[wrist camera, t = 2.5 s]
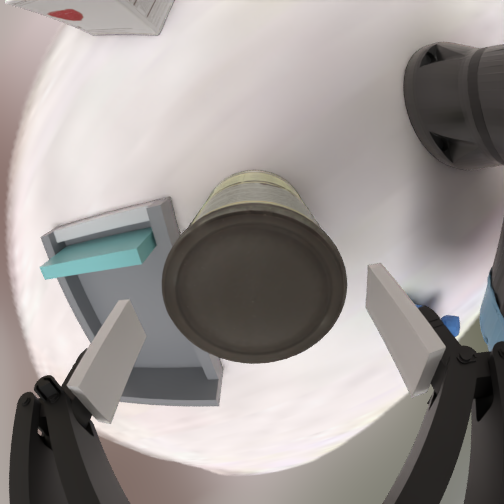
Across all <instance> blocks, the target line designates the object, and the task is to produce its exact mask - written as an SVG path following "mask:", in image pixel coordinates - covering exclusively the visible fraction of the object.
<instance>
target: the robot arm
mask: <svg viewBox="0 0 504 504" xmlns="http://www.w3.org/2000/svg"><path fill="white" fill-rule="evenodd" d="M404 95H405V102H406V107H407V111H408V114H409V117H410V120H411V123H412V125H413V128H414V130H415V132H416V134H417V135H418V137H419V139H420V140H421V142H422V143H423V145H424V146H425V147H426V149H427V150H428V151H429V152H430V153H431V154H432V155H433V156H434V157H435V158H436V159H438V160H439V161H441V162H442V163H444V164H446V165H449V166H452V167H455V168H458V169H462V170H478V169H484V168H489V167H494V166H500V165H504V44H502V45H496V46H491V47H486V48H476V47H471V46H466V45H461V44H456V43H450V42H438V43H434V44H431V45H428V46H425V47H423V48H421V49H419V50H418V51H417V52H416V53H415V54H414V55H413V56H412V57H411V59H410V61H409V63H408V65H407V68H406V72H405V78H404ZM366 309H367V311H368V313H369V315H370V316H371V318H372V320H373V322H374V324H375V326H376V327H377V329H378V331H379V333H380V335H381V337H382V339H383V341H384V342H385V344H386V346H387V348H388V350H389V352H390V354H391V356H392V358H393V360H394V362H395V364H396V366H397V368H398V370H399V372H400V374H401V376H402V378H403V380H404V383H405V385H406V387H407V389H408V391H409V393H410V395H411V397H415V396H418V395H420V394H423V393H426V392H427V390H428V388H429V386H430V384H431V385H432V387H433V389H434V392H433V394H432V396H431V398H430V400H429V401H428V403H427V404H429V406H428V409H427V411H426V415H425V417H424V420H423V422H422V425H421V428H420V430H419V433H418V435H417V437H416V440H415V442H414V444H413V447H412V449H411V451H410V453H409V456H408V458H407V460H406V462H405V464H404V466H403V468H402V470H401V472H400V474H399V476H398V477H397V479H396V481H395V483H394V485H393V487H392V488H391V490H390V492H389V493H388V495H387V497H386V498H385V500H384V502H383V503H382V504H439V503H440V501H441V499H442V497H443V495H444V492H445V490H446V488H447V485H448V483H449V480H450V478H451V476H452V473H453V470H454V467H455V465H456V462H457V459H458V456H459V453H460V450H461V447H462V443H463V440H464V436H465V433H466V429H467V425H468V421H469V416H470V412H471V413H472V414H471V415H472V431H471V434H472V435H471V454H470V466H469V475H468V483H467V489H466V495H465V500H464V504H504V219H503V224H502V230H501V234H500V239H499V243H498V248H497V252H496V256H495V259H494V263H493V266H492V268H491V270H490V272H489V276H488V285H487V288H486V292H485V295H484V298H483V302H482V305H481V309H480V326H481V332H482V335H483V338H484V341H485V342H486V344H487V345H488V350H489V352H482V353H476V351H475V350H473V349H472V348H470V347H468V346H461V345H460V344H459V343H458V341H457V340H456V338H455V337H454V336H453V334H452V333H451V332H450V331H449V329H448V328H447V327H446V325H444V323H443V322H442V320H441V319H440V318H439V316H438V315H437V314H436V313H435V312H434V311H433V310H432V309H430V308H429V307H427V306H422V307H419V308H417V307H416V305H415V304H414V303H413V302H412V300H411V299H410V298H409V296H408V295H407V294H406V293H405V291H404V290H403V289H402V288H401V286H400V285H399V284H398V283H397V282H396V280H395V279H394V278H393V277H392V276H391V274H390V273H389V272H388V271H387V270H386V268H385V267H384V266H383V265H382V264H381V263H377V264H371V265H368V274H367V294H366ZM145 338H146V334H145V332H144V330H143V328H142V326H141V323H140V321H139V319H138V317H137V315H136V313H135V311H134V308H133V306H132V304H131V302H130V299H128V300H119V301H118V302H117V304H116V305H115V307H114V308H113V310H112V311H111V313H110V314H109V316H108V317H107V319H106V320H105V322H104V324H103V325H102V327H101V328H100V330H99V331H98V333H97V334H96V336H95V338H94V339H93V341H92V342H91V344H90V346H89V347H88V349H87V348H86V349H85V350H84V351H83V352H82V353H81V354H80V355H79V357H78V359H77V360H76V363H75V364H74V365H73V367H72V369H71V370H70V372H69V374H68V376H67V377H66V379H65V381H64V383H63V384H62V386H60V385H59V384H58V383H57V381H56V380H55V379H54V377H52V376H51V375H47V376H44V377H42V378H40V379H39V380H38V381H37V383H36V384H35V387H34V391H35V392H36V393H37V394H38V395H39V397H40V398H39V399H38V398H37V397H36V396H35V395H34V394H33V393H32V392H27V393H24V394H23V395H22V396H21V397H20V399H19V400H18V403H17V409H16V414H15V420H14V427H13V434H12V443H11V453H10V472H9V494H10V504H130V502H129V501H128V499H127V497H126V496H125V494H124V492H123V490H122V488H121V486H120V485H119V482H118V480H117V478H116V476H115V474H114V472H113V470H112V468H111V466H110V464H109V461H108V459H107V457H106V455H105V453H104V450H103V447H102V445H101V442H100V440H99V437H98V435H97V432H96V429H95V427H94V424H93V423H92V421H91V420H90V419H91V416H92V415H93V416H94V417H95V419H96V420H97V421H98V422H103V423H108V424H111V422H112V419H113V417H114V414H115V411H116V409H117V406H118V403H119V401H120V398H121V396H122V393H123V391H124V388H125V386H126V383H127V381H128V378H129V376H130V373H131V371H132V369H133V366H134V364H135V361H136V359H137V357H138V354H139V352H140V350H141V347H142V345H143V343H144V341H145ZM38 429H39V430H40V431H41V432H42V435H41V436H40V435H39V434H38Z"/></svg>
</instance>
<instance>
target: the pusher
mask: <svg viewBox="0 0 504 504" xmlns="http://www.w3.org/2000/svg"><path fill="white" fill-rule="evenodd" d="M156 246H157V244H156V241H155V238H154V234H153V231H152V228H151V227H149V228H144V229H139V230H134V231H130V232H125V233H121V234H116V235H112V236H107V237H103V238H98V239H94V240H90V241H86V242H81V243H77V244H73V245H69V246H66V247H65V248H64V249H62V250H61V251H60V252H58V253H57V254H56V255H55V256H53V257H52V258H51V259H50V260H48V261H47V262H46V263H45V264H43V265H42V266H41V267H40V269H41V272H42V274H43V276H44V278H45V280H46V279H52V278H58V277H64V276H71V275H77V274H83V273H89V272H96V271H102V270H108V269H115V268H121V267H128V266H134V265H140V264H143V262H144V261H145V260H146V258H147V257H148V256H149V255H150V253H151V252H152V251H153V249H154V248H155V247H156Z"/></svg>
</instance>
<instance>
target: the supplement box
mask: <svg viewBox="0 0 504 504" xmlns="http://www.w3.org/2000/svg"><path fill="white" fill-rule="evenodd" d="M173 2H174V0H6V1H5V4H8V5H12V6H15V7H20V8H23V9H26V10H29V11H32V12H35V13H38V14H41V15H44V16H47V17H50V18H53V19H55V20H58V21H61V22H63V23H66V24H68V25H71V26H73V27H76V28H78V29H80V30H82V31H85V32H87V33H89V34H91V35H118V34H127V35H159V34H160V32H161V29H162V27H163V25H164V22H165V20H166V18H167V15H168V13H169V11H170V9H171V6H172V4H173Z"/></svg>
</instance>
